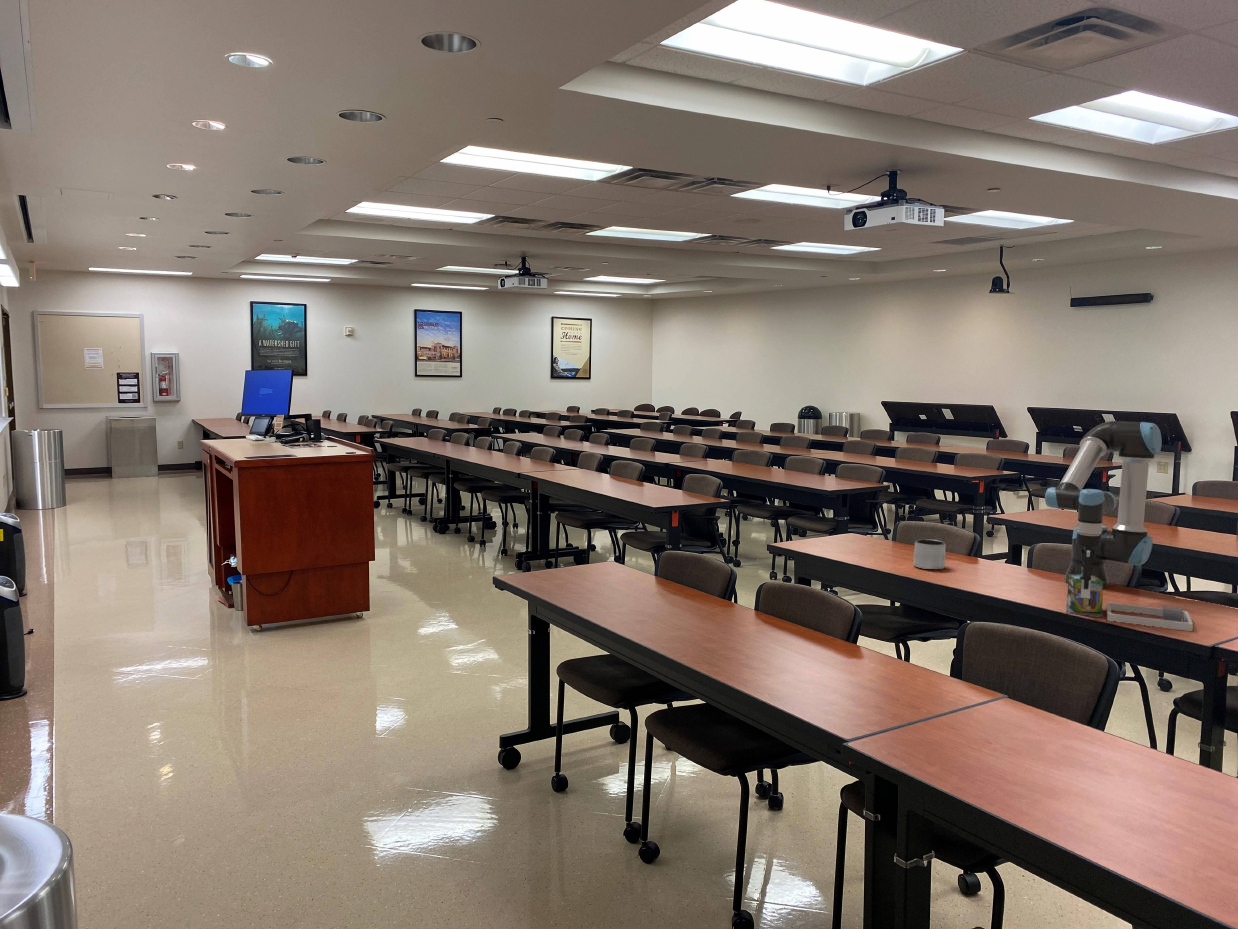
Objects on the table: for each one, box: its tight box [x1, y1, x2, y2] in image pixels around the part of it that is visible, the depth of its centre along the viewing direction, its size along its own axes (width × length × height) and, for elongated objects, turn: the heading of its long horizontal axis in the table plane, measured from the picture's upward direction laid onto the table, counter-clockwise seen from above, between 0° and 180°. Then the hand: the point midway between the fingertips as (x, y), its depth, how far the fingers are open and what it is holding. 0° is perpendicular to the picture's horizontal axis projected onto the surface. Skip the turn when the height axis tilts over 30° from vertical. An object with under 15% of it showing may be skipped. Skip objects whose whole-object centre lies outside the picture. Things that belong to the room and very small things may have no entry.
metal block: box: [1161, 605, 1184, 622], centre depth 284 cm, size 5×5×5 cm
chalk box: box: [1066, 567, 1104, 614], centre depth 297 cm, size 9×9×15 cm
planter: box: [913, 538, 946, 570], centre depth 360 cm, size 13×12×11 cm
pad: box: [1065, 604, 1103, 618], centre depth 297 cm, size 11×11×1 cm
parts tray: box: [1105, 601, 1194, 632], centre depth 287 cm, size 16×24×2 cm, turn 61°
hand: (1085, 593), depth 297 cm, fingers open, 13 cm apart
